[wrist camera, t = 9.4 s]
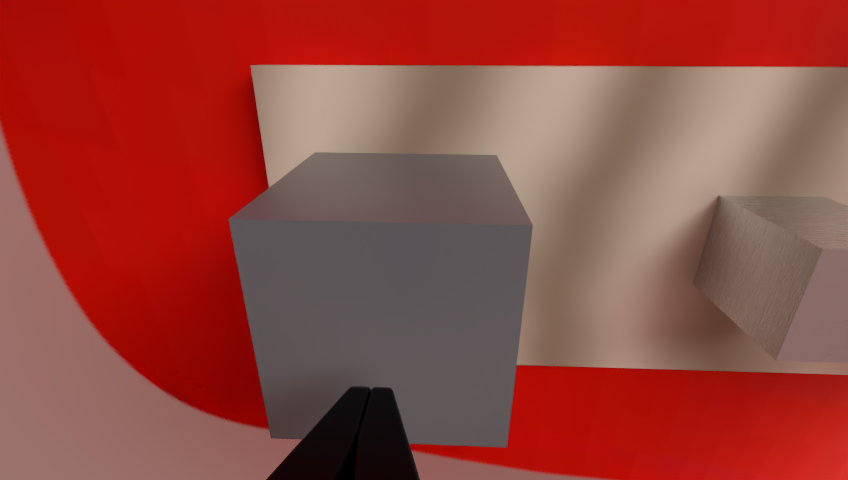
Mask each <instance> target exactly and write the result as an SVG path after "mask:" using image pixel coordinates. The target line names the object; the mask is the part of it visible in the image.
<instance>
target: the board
mask: <svg viewBox="0 0 848 480" xmlns="http://www.w3.org/2000/svg"><path fill="white" fill-rule="evenodd" d="M251 73H252V79H253V86H254V92H255V99H256V106H257V112H258V119H259V125H260V132H261V139H262V145H263V152H264V158H265V165H266V172H267V178H268V185H269V187H271V186H272V185H273V184H275V183H276V182H277V181H279V180H280V179H281V178H282V177H284V176H285V175H286V174H288V173H289V172H290V171H291V170H293V169H294V168H295V167H297V166H298V165H299V164H301V163H302V162H303V161H304V160H306V159H307V158H308V157H310V156H311V155H312V154H313V153H315V152H329V153H398V154H467V155H497V157H498V159H499V161H500V163H501V164H502V166H503V168H504V170H505V172H506V174H507V176H508V178H509V180H510V182H511V184H512V186H513V188H514V190H515V192H516V193H517V195H518V197H519V199H520V201H521V203H522V205H523V207H524V209H525V211H526V213H527V215H528V217H529V219H530V221H531V223H532V224H533V230H532V238H531V247H530V255H529V264H528V272H527V281H526V289H525V298H524V306H523V315H522V323H521V332H520V340H519V349H518V357H517V365H539V366H572V367H605V368H638V369H672V370H705V371H738V372H771V373H804V374H837V375H848V363H832V362H798V361H775V360H774V359H773V358H772V357H771V356H770V355H769V354H768V353H767V352H766V351H765V350H764V349H763V348H761V347H760V346H759V345H758V344H757V343H756V342H755V341H754V340H753V339H752V338H751V337H750V336H749V335H747V334H746V333H745V332H744V331H743V330H742V329H741V328H740V327H739V326H738V325H737V324H736V323H734V322H733V321H732V320H731V319H730V318H729V317H728V316H727V315H726V314H725V313H724V312H723V311H722V310H720V309H719V308H718V307H717V306H716V305H715V304H714V303H713V302H712V301H711V300H710V299H709V298H708V297H706V296H705V295H704V294H703V293H702V292H701V291H700V290H699V289H698V288H697V287H696V286H695V285H694V284H693V282H694V279H695V275H696V272H697V269H698V265H699V262H700V258H701V255H702V252H703V248H704V245H705V242H706V238H707V235H708V232H709V228H710V225H711V221H712V218H713V215H714V211H715V208H716V205H717V201H718V198H719V195H730V196H798V197H826V198H829V199H831V200H834V201H837V202H839V203H842V204H844V205H847V206H848V67H729V66H445V65H253V66H251Z"/></svg>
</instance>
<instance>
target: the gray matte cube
mask: <svg viewBox="0 0 848 480" xmlns="http://www.w3.org/2000/svg"><path fill="white" fill-rule="evenodd" d="M229 224H230V229H231V234H232V239H233V245H234V250H235V255H236V260H237V265H238V270H239V276H240V281H241V286H242V291H243V296H244V301H245V306H246V312H247V317H248V322H249V327H250V332H251V337H252V342H253V348H254V353H255V358H256V363H257V368H258V373H259V378H260V384H261V389H262V394H263V399H264V404H265V409H266V415H267V420H268V425H269V430H270V435H271V438H281V439H282V438H283V439H303V438H304V437H305V436H306V435H307V434H308V433H309V432H310V431H311V429H312V428H313V427H314V426H315V425H316V424H317V423H318V422H319V421H320V419H321V418H322V417H323V416H324V415H325V414H326V413H327V412H328V411H329V409H330V408H331V407H332V406H333V405H334V404H335V403H336V402H337V401H338V400H339V398H340V397H341V396H342V395H343V394H344V393H345V392H346V391H347V390H348V388H350V387H352V386H365V387H370V388H371V389H372V388H373V387H390V388H392V390H393V392H394V395H395V399H396V402H397V405H398V409H399V412H400V415H401V419H402V422H403V425H404V429H405V432H406V435H407V439H408V442H409V444H432V445H457V446H482V447H507V442H508V434H509V425H510V417H511V408H512V400H513V391H514V383H515V374H516V366H517V357H518V349H519V340H520V332H521V323H522V315H523V306H524V298H525V289H526V281H527V272H528V264H529V255H530V247H531V238H532V230H533V224H532V223H531V221H530V219H529V217H528V215H527V213H526V211H525V209H524V207H523V205H522V203H521V201H520V199H519V197H518V195H517V193H516V192H515V190H514V188H513V186H512V184H511V182H510V180H509V178H508V176H507V174H506V172H505V170H504V168H503V166H502V164H501V163H500V161H499V159H498V157H497V155H467V154H398V153H329V152H315V153H313V154H312V155H311V156H310V157H308V158H307V159H306V160H304V161H303V162H302V163H301V164H299V165H298V166H297V167H295V168H294V169H293V170H291V171H290V172H289V173H288V174H286V175H285V176H284V177H282V178H281V179H280V180H279V181H277V182H276V183H275V184H273V185H272V186H271V187H269V188H268V189H267V190H266V191H264V192H263V193H262V194H260V195H259V196H258V197H257V198H255V199H254V200H253V201H251V202H250V203H249V204H248V205H246V206H245V207H244V208H242V209H241V210H240V211H238V212H237V213H236V214H235V215H233V216H232V217H231V218H229Z"/></svg>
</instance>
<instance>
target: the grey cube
mask: <svg viewBox="0 0 848 480" xmlns="http://www.w3.org/2000/svg"><path fill="white" fill-rule="evenodd" d="M693 284H694V285H695V286H696V287H697V288H698V289H699V290H700V291H701V292H702V293H703V294H704V295H705V296H706V297H708V298H709V299H710V300H711V301H712V302H713V303H714V304H715V305H716V306H717V307H718V308H719V309H720V310H722V311H723V312H724V313H725V314H726V315H727V316H728V317H729V318H730V319H731V320H732V321H733V322H734V323H736V324H737V325H738V326H739V327H740V328H741V329H742V330H743V331H744V332H745V333H746V334H747V335H749V336H750V337H751V338H752V339H753V340H754V341H755V342H756V343H757V344H758V345H759V346H760V347H761V348H763V349H764V350H765V351H766V352H767V353H768V354H769V355H770V356H771V357H772V358H773V359H774V360H775V361H798V362H832V363H848V206H847V205H844V204H842V203H839V202H837V201H834V200H831V199H829V198H826V197H798V196H730V195H719V198H718V201H717V205H716V208H715V211H714V215H713V218H712V221H711V225H710V228H709V232H708V235H707V238H706V242H705V245H704V248H703V252H702V255H701V258H700V262H699V265H698V269H697V272H696V275H695V279H694V282H693Z"/></svg>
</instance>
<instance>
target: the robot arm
mask: <svg viewBox="0 0 848 480" xmlns="http://www.w3.org/2000/svg"><path fill="white" fill-rule="evenodd" d="M267 480H420V479H419V475H418V472H417V469H416V465H415V462H414V459H413V455H412V452H411V449H410V445H409V442H408V439H407V435H406V432H405V429H404V425H403V422H402V419H401V415H400V412H399V409H398V405H397V402H396V399H395V395H394V392H393V390H392V388H390V387H373V388H372V389H371V388H370V387H365V386H352V387H350V388H348V390H347V391H346V392H345V393H344V394H343V395H342V396H341V397H340V398H339V400H338V401H337V402H336V403H335V404H334V405H333V406H332V407H331V408H330V409H329V411H328V412H327V413H326V414H325V415H324V416H323V417H322V418H321V419H320V421H319V422H318V423H317V424H316V425H315V426H314V427H313V428H312V429H311V431H310V432H309V433H308V434H307V435H306V436H305V437H304V438H303V439H302V441H301V442H300V443H299V444H298V445H297V446H296V447H295V448H294V449H293V451H292V452H291V453H290V454H289V455H288V456H287V457H286V458H285V459H284V461H283V462H282V463H281V464H280V465H279V466H278V467H277V468H276V470H275V471H274V472H273V473H272V474H271V475H270V476H269V477H268V478H267Z"/></svg>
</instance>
